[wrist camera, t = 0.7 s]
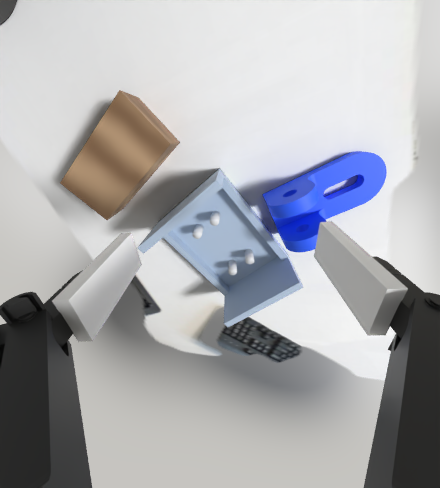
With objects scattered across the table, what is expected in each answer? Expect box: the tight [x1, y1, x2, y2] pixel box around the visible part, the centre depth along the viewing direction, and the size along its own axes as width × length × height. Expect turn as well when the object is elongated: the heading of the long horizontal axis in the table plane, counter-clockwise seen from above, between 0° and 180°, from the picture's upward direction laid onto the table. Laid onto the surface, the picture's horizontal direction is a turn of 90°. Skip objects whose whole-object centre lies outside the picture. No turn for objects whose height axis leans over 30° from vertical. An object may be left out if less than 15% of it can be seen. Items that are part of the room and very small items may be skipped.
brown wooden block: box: [60, 90, 180, 220], centre depth 31 cm, size 16×8×6 cm, turn 134°
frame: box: [138, 168, 303, 327], centre depth 35 cm, size 21×15×10 cm
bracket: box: [263, 151, 386, 252], centre depth 31 cm, size 18×8×9 cm, turn 117°
